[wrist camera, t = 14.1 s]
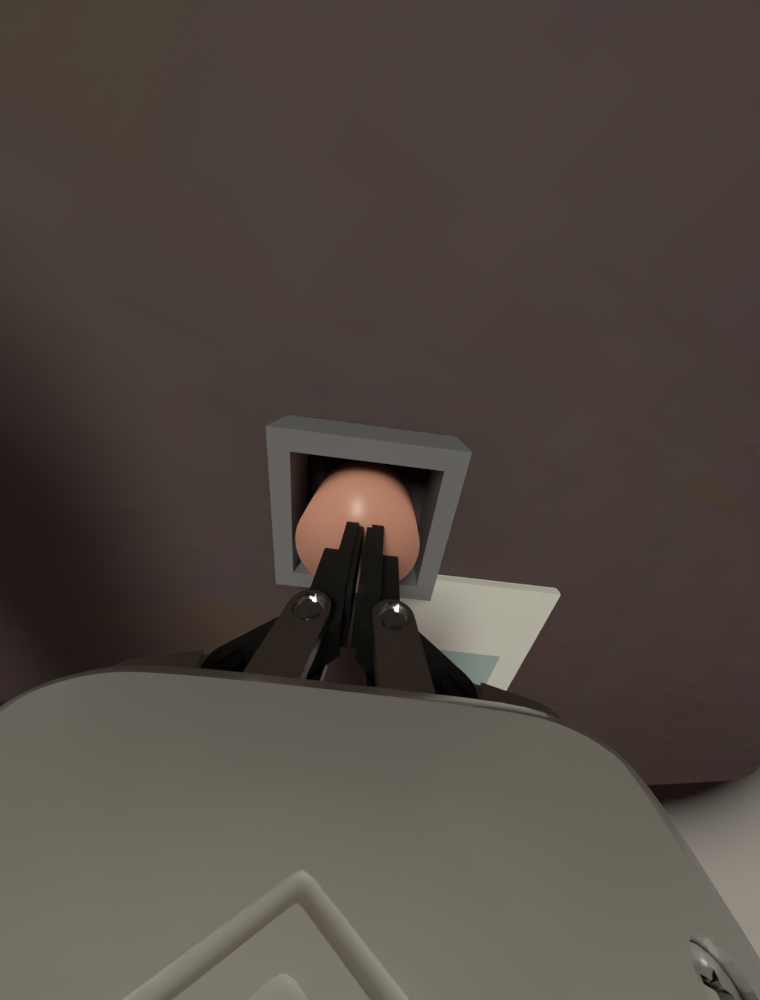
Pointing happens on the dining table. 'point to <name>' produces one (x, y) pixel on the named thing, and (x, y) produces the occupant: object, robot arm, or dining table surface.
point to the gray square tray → (371, 444)
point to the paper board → (484, 624)
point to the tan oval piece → (360, 514)
